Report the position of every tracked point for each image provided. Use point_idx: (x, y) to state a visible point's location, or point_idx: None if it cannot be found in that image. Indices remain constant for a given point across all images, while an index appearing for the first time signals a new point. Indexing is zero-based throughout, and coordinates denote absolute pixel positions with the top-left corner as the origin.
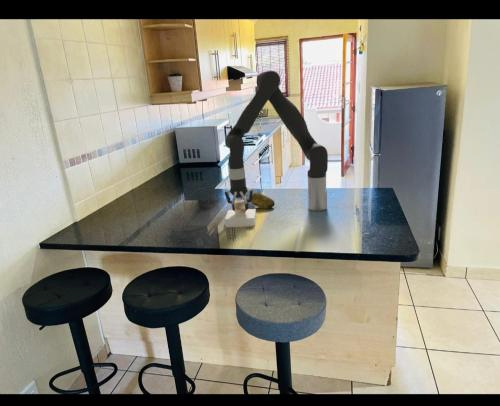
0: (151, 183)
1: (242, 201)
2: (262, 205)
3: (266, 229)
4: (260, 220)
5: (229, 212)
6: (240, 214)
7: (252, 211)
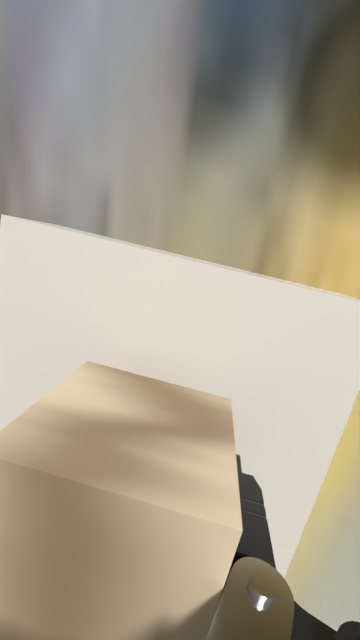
0: None
1: (149, 609)
2: None
3: (334, 615)
4: (349, 422)
5: (18, 311)
6: None
7: (314, 395)
